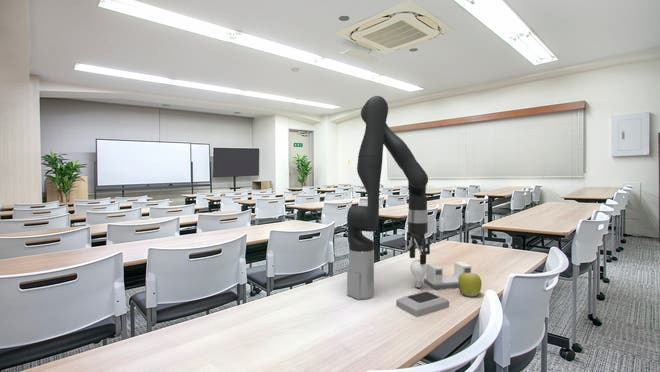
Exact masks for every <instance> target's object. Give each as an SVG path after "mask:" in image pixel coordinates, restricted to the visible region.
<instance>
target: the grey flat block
mask: <svg viewBox="0 0 660 372" xmlns="http://www.w3.org/2000/svg"><path fill="white" fill-rule="evenodd" d="M395 302H396V303H395V305H396V306H395V307H397V308H398V309H401V310H402V311H405V312H406V313H408V314H410V315H412V316H413V317H416V318H418V317H422V316H425V315H429V314H431V313H434V312H435V313H436V312H437V311H440V310H444V309H447V308H449V307H450V301H449V299H447V298H445V297H444V296H441V295H440V294H437V293H434V292H432V291H429V290H424V291H419V292H417V293H412V294H409V295H406V296H405V295H404V296H402V297H399V298H397V299H396V301H395Z"/></svg>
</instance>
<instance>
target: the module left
mask: <svg viewBox="0 0 660 372" xmlns="http://www.w3.org/2000/svg"><path fill="white" fill-rule="evenodd" d="M426 266H427V272H426V274H425V276H426V278H427V279H428V280H430V281H431V282H432V283H434V284H438V283H442V279H443V277H444V276H443V275H444V274H443V272H444V271H443V270H444V269H443V267H442V266H440V265H438V264H436V263H426Z"/></svg>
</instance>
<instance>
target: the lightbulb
mask: <svg viewBox="0 0 660 372" xmlns="http://www.w3.org/2000/svg"><path fill="white" fill-rule="evenodd" d="M426 265H427V263H426V264H423V265H422V264H420V259H415V260H413V261H412V262H411V264H410V266H409V267H410V272H411V273H412V275H413V278H414V286H415V287H416V288H418V289H420V288H422V287H423V281H424V277H425V276H426V272H427V266H426Z"/></svg>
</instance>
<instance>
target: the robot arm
mask: <svg viewBox="0 0 660 372" xmlns="http://www.w3.org/2000/svg"><path fill="white" fill-rule="evenodd" d="M388 114H389V105H388V102H387V101H386V99H385V98H384V97H382V96H380V95H373V96H371V97H370V98H369V99H368V100H367V101H366V102H365V103H364V105H363V106H362V108H361V110H360V116H361V119H362V121H363V122H364V124H365V129H364V130H365V131H364V135H363V138H362V140H361V144H360V147H359V150H358V156H357V163H356V165H357V166H356V172H357V175H358V177H359V179H360V181H361V183H362V185H363V187H364V189H365V192H366V195H367V205H351V206H350V207H349V208H348V211H347V215H346V225H347V226H346V229H347V242H348V269H347V271H346V279H347V280H346V283H347V285H346V286H347V287H346V295H347V296H349V297H352V298H354V299H356V300H359V301H360V300H366V299H367V300H368V299H371V298H373V297H374V296H375V279H374V277H375V243H374V241H373V240H372V239H370V238H368V237H366V236H365V235H364V234H363V233H362V232H367V233H368V232H369V233H373V232H375V231H376V230H377V229H378V225H379V217H380V187H381V179H382V178H381V176H382V175H381V174H382V169H383V156H384V155H383V154H384V147H385V148H386V150H387V151H388V152H389V154H390V156H391V158H393V160H394V162H395V164H396V165H397V166H398V168H400V169H401V171H402V172H403V174H404V176H405V177H406V178H407V183H408V185H407V186H408V187H407V188H408V212H407V232H406V247H408V249H409V258H410V259H415V258H416V249H417V250H418V251H419V252H418V253H419V260H420V264H422V265H423V264H426V265H427V255H430V253H431V252H430V251H431V249H430V248H431V247H430V244H431V243H430V241H431V240H430V238H425V234H427V233H428V232H429V231H428V230H429V229H428V222H429V221H428V218H429V216H428V214H429V213H428V198H427V194H426V193H427V191H426V188H427V184H428V182H429V177H428V174H427V173H426V171H425V170H424V169H423V167H422V166H421V164H420V163H419V162H418V160H417V159H416V157H415V156H414V154H413V152H412V151H411V149H410V148H409V146H408V145H407V144H406V142H405V141H404V140H403V139H401V137H399V136H398V135H397V134H396V133H394V132H393V130H392V129H391V128H390V127H389V125H388V124H387V118H388Z"/></svg>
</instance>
